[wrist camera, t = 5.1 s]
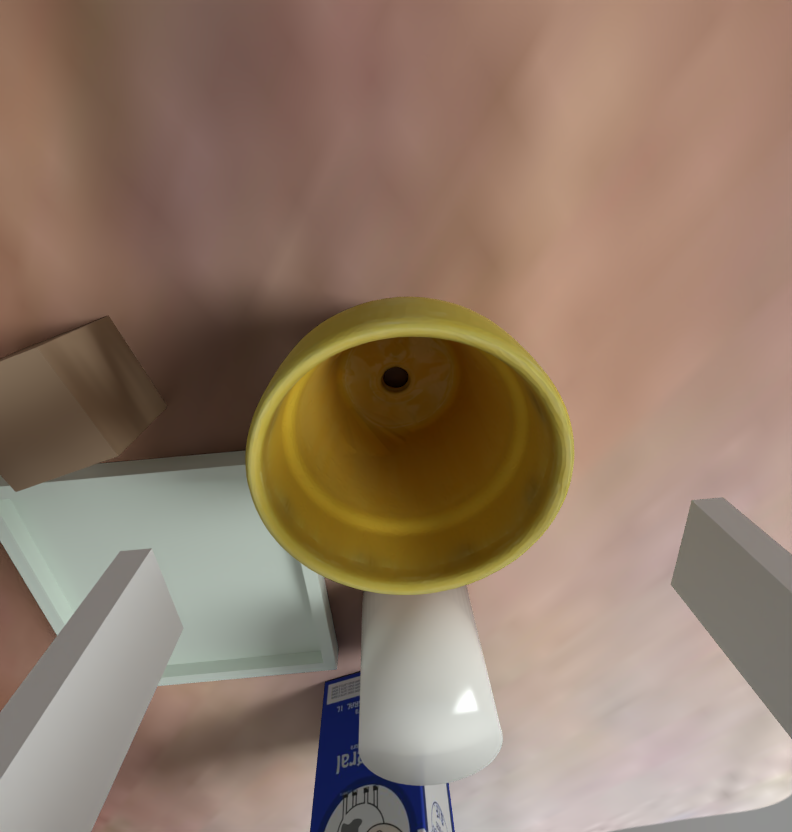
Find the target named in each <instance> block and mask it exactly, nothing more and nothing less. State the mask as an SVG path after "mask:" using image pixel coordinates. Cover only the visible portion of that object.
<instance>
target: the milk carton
mask: <svg viewBox="0 0 792 832" xmlns="http://www.w3.org/2000/svg"><path fill="white" fill-rule="evenodd" d="M360 677H361V672H358V673H355V674H352V675H348V676H345V677H341V678H338V679H334V680H331V681H327V682H325V688H324V698H323V708H322V718H321V728H320V738H319V748H318V758H317V768H316V778H315V788H314V798H313V808H312V818H311V828H310V832H455V830H454V822H453V814H452V807H451V799H450V791H449V783H445V784H439V785H427V786H416V785H406V784H400V783H396V782H392V781H389V780H386V779H384V778H381V777H379V776H377V775H376V774H374V773H373V772H371V771H370V770H369V769H368V768H367V767H366V766H365V765H364V764H363V762H362V760H361V758H360V755H359V713H360Z"/></svg>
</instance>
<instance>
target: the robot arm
mask: <svg viewBox="0 0 792 832" xmlns="http://www.w3.org/2000/svg"><path fill="white" fill-rule="evenodd" d="M671 585H672V587H673V588H674V589H675V590H676V592H677V593H678V594H679V596H680V597H681V598H682V599H683V601H684V602H685V603H686V604H687V606H688V607H689V608H690V610H691V611H692V612H693V613H694V615H695V616H696V617H697V619H698V620H699V621H700V622H701V624H702V625H703V626H704V627H705V629H706V630H707V631H708V633H709V634H710V635H711V636H712V638H713V639H714V640H715V641H716V643H717V644H718V645H719V647H720V648H721V649H722V650H723V652H724V653H725V654H726V656H727V657H728V658H729V659H730V661H731V662H732V663H733V664H734V666H735V667H736V668H737V670H738V671H739V672H740V673H741V675H742V676H743V677H744V679H745V680H746V681H747V682H748V684H749V685H750V686H751V687H752V689H753V690H754V691H755V693H756V694H757V695H758V696H759V698H760V699H761V700H762V701H763V703H764V704H765V705H766V707H767V708H768V709H769V710H770V712H771V713H772V714H773V716H774V717H775V718H776V719H777V721H778V722H779V723H780V724H781V726H782V727H783V728H784V730H785V731H786V732H787V733H788V735H789V736H790V737H791V739H792V555H791V554H790V553H789V552H788V551H787V550H785V549H784V548H783V547H782V546H781V545H779V544H778V543H777V542H776V541H775V540H773V539H772V538H771V537H770V536H769V535H767V534H766V533H765V532H764V531H763V530H761V529H760V528H759V527H758V526H757V525H755V524H754V523H753V522H752V521H751V520H749V519H748V518H747V517H746V516H745V515H744V514H742V513H741V512H740V511H739V510H738V509H736V508H735V507H734V506H733V505H732V504H730V503H729V502H728V501H727V500H726V499H724V498H712V499H700V500H692V501H691V505H690V509H689V514H688V518H687V522H686V526H685V530H684V534H683V538H682V542H681V546H680V550H679V554H678V558H677V562H676V566H675V570H674V574H673V578H672V582H671ZM183 629H184V628H183V625H182V623H181V620H180V618H179V615H178V613H177V610H176V608H175V605H174V603H173V600H172V598H171V595H170V593H169V590H168V588H167V585H166V583H165V580H164V578H163V575H162V573H161V570H160V568H159V565H158V563H157V560H156V558H155V555H154V553H153V550H152V548H149V549H138V550H127V551H120V552H119V553H118V555H117V556H116V557H115V559H114V560H113V561H112V563H111V564H110V565H109V567H108V568H107V569H106V571H105V572H104V573H103V575H102V576H101V577H100V579H99V580H98V581H97V583H96V584H95V586H94V587H93V588H92V590H91V591H90V592H89V594H88V595H87V596H86V598H85V599H84V600H83V602H82V603H81V604H80V606H79V607H78V608H77V610H76V611H75V612H74V614H73V615H72V617H71V618H70V619H69V621H68V622H67V623H66V625H65V626H64V627H63V629H62V630H61V631H60V633H59V634H58V635H57V637H56V638H55V639H54V641H53V642H52V643H51V645H50V646H49V647H48V649H47V650H46V652H45V653H44V654H43V656H42V657H41V658H40V660H39V661H38V662H37V664H36V665H35V666H34V668H33V669H32V670H31V672H30V673H29V674H28V676H27V677H26V678H25V680H24V681H23V682H22V684H21V685H20V687H19V688H18V689H17V691H16V692H15V693H14V695H13V696H12V697H11V699H10V700H9V701H8V703H7V704H6V705H5V707H4V708H3V709H2V711H1V712H0V832H91V831H92V828H93V826H94V824H95V822H96V820H97V817H98V815H99V813H100V811H101V809H102V806H103V804H104V802H105V800H106V798H107V795H108V793H109V791H110V789H111V787H112V785H113V782H114V780H115V778H116V776H117V774H118V771H119V769H120V767H121V765H122V763H123V760H124V758H125V756H126V754H127V752H128V749H129V747H130V745H131V743H132V741H133V738H134V736H135V734H136V732H137V730H138V727H139V725H140V723H141V721H142V719H143V716H144V714H145V712H146V710H147V708H148V705H149V703H150V701H151V699H152V697H153V694H154V692H155V690H156V688H157V686H158V684H159V681H160V679H161V677H162V675H163V673H164V670H165V668H166V666H167V664H168V662H169V659H170V657H171V655H172V653H173V651H174V648H175V646H176V644H177V642H178V640H179V637H180V635H181V633H182V631H183Z"/></svg>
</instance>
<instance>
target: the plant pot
mask: <svg viewBox="0 0 792 832" xmlns="http://www.w3.org/2000/svg"><path fill="white" fill-rule="evenodd" d="M393 367H400V368H403V369H404V370H405V371H406V372H407V373H408V381H407V383H406V384H405V385H404V386H402V387H399V388H393V387H389V386H387V385H386V384H385V383H384V381H383V374H384V373H385V371H386V370H388V369H390V368H393ZM573 464H574V440H573V433H572V427H571V423H570V419H569V415H568V412H567V410H566V407H565V404H564V402H563V400H562V398H561V396H560V394H559V392H558V391H557V389H556V387H555V385H554V384H553V382H552V381H551V379H550V378H549V377H548V375H547V374H546V373H545V372H544V370H543V369H542V368H541V367H540V366H539V364H538V363H537V362H536V361H535V360H534V359H533V357H532V356H531V355H530V354H529V353H528V352H527V351H526V350H525V349H524V348H523V347H522V346H521V345H520V344H519V343H518V342H517V341H516V340H515V339H514V338H512V337H511V336H510V335H509V334H508V333H506V332H505V331H504V330H503V329H501V328H500V327H499V326H497V325H496V324H495V323H493V322H492V321H490V320H489V319H487V318H485V317H484V316H482V315H480V314H478V313H476V312H474V311H472V310H470V309H467V308H465V307H462V306H460V305H456V304H453V303H450V302H446V301H442V300H437V299H430V298H422V297H395V298H386V299H381V300H375V301H371V302H367V303H363V304H360V305H357V306H355V307H352V308H349V309H347V310H345V311H342V312H340V313H338V314H336V315H335V316H333V317H331V318H329V319H327V320H326V321H324V322H322V323H321V324H319V325H318V326H317V327H316V328H314V329H313V330H312V331H310V332H309V333H308V334H307V335H306V336H305V337H304V338H303V339H301V340H300V341H299V343H298V344H297V345H296V346H295V347H294V348H293V349H292V351H291V352H290V353H289V355H288V356H287V357H286V358H285V360H284V361H283V362H282V364H281V365H280V367H279V368H278V370H277V372H276V373H275V375H274V376H273V378H272V379H271V381H270V383H269V385H268V386H267V388H266V390H265V392H264V393H263V395H262V397H261V399H260V401H259V403H258V406H257V408H256V410H255V412H254V415H253V418H252V422H251V425H250V428H249V433H248V437H247V444H246V453H245V466H246V477H247V483H248V487H249V490H250V494H251V497H252V500H253V503H254V505H255V508H256V510H257V512H258V514H259V516H260V518H261V520H262V522H263V524H264V525H265V527H266V528H267V530H268V531H269V533H270V534H271V535H272V536H273V538H274V539H275V540H276V541H277V542H278V544H279V545H280V546H281V547H282V548H283V549H284V550H285V551H287V552H288V553H289V554H290V555H291V556H292V557H294V558H295V559H296V560H297V561H299V562H300V563H302V564H303V565H304V566H306V567H307V568H309V569H310V570H312V571H314V572H316V573H317V574H319V575H321V576H323V577H325V578H328V579H330V580H332V581H334V582H337V583H340V584H342V585H345V586H349V587H352V588H355V589H359V590H363V591H369V592H374V593H380V594H391V595H420V594H430V593H436V592H441V591H446V590H450V589H455V588H458V587H462V586H465V585H467V584H470V583H473V582H475V581H478V580H480V579H483V578H485V577H487V576H489V575H490V574H492V573H494V572H496V571H498V570H500V569H502V568H504V567H505V566H507V565H508V564H510V563H511V562H513V561H514V560H516V559H517V558H518V557H520V556H521V555H522V554H523V553H525V552H526V551H527V550H528V549H529V548H530V547H531V546H532V545H533V544H534V543H535V542H536V541H537V540H538V539H539V538H540V537H541V536H542V535H543V534H544V532H545V531H546V530H547V529H548V527H549V526H550V524H551V523H552V522H553V520H554V518H555V517H556V515H557V513H558V512H559V510H560V508H561V506H562V504H563V502H564V500H565V497H566V495H567V492H568V488H569V485H570V482H571V477H572V471H573Z"/></svg>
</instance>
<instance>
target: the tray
mask: <svg viewBox="0 0 792 832" xmlns="http://www.w3.org/2000/svg"><path fill="white" fill-rule="evenodd" d="M245 453H246V451H234V452H223V453H212V454H201V455H189V456H178V457H167V458H156V459H144V460H133V461H122V462H111V463H99V464H95V465H92V466H89V467H86V468H83V469H81V470H78V471H75V472H72V473H69V474H66V475H63V476H61V477H58V478H55V479H52V480H49V481H46V482H43V483H41V484H38V485H35V486H32V487H29V488H26V489H24V490H21V491H18V492H15V491H14V490H13V489H12V487H11V486H10V485H9V484H8V483H7V482H6V481H5V480H4V479H3V478H2V476H1V475H0V541H1V543H2V545H3V546H4V548H5V550H6V551H7V553H8V555H9V556H10V558H11V560H12V561H13V563H14V565H15V566H16V568H17V570H18V571H19V573H20V575H21V576H22V578H23V580H24V581H25V583H26V585H27V586H28V588H29V590H30V591H31V593H32V594H33V596H34V598H35V599H36V601H37V603H38V604H39V606H40V608H41V609H42V611H43V613H44V614H45V616H46V618H47V619H48V621H49V623H50V624H51V626H52V628H53V629H54V631H55V633H56V634H57V635H58V634H59V633H60V631H61V630H62V629H63V627H64V626H65V625H66V623H67V622H68V621H69V619H70V618H71V617H72V615H73V614H74V612H75V611H76V610H77V608H78V607H79V606H80V604H81V603H82V602H83V600H84V599H85V598H86V596H87V595H88V594H89V592H90V591H91V590H92V588H93V587H94V586H95V584H96V583H97V581H98V580H99V579H100V577H101V576H102V575H103V573H104V572H105V571H106V569H107V568H108V567H109V565H110V564H111V563H112V561H113V560H114V559H115V557H116V556H117V555H118V553H119V552H120V551H127V550H138V549H149V548H152V550H153V553H154V555H155V558H156V560H157V563H158V565H159V568H160V570H161V573H162V575H163V578H164V580H165V583H166V585H167V588H168V590H169V593H170V595H171V598H172V600H173V603H174V605H175V608H176V610H177V613H178V615H179V618H180V620H181V623H182V625H183V628H184V629H183V631H182V633H181V635H180V637H179V640H178V642H177V644H176V646H175V648H174V651H173V653H172V655H171V657H170V659H169V662H168V664H167V666H166V668H165V670H164V673H163V675H162V677H161V679H160V681H159V684H158V686H163V685H174V684H185V683H195V682H206V681H217V680H228V679H239V678H250V677H260V676H271V675H282V674H293V673H304V672H314V671H325V670H336V669H337V663H338V650H339V649H338V644H337V639H336V634H335V629H334V624H333V619H332V614H331V609H330V604H329V599H328V594H327V589H326V584H325V579H324V577H323V576H321V575H319V574H317V573H316V572H314V571H312V570H310V569H309V568H307V567H306V566H304V565H303V564H302V563H300V562H299V561H297V560H296V559H295V558H294V557H292V556H291V555H290V554H289V553H288V552H287V551H285V550H284V549H283V548H282V547H281V546H280V545H279V544H278V542H277V541H276V540H275V539H274V538H273V536H272V535H271V534H270V533H269V531H268V530H267V528H266V527H265V525H264V524H263V522H262V520H261V518H260V516H259V514H258V512H257V510H256V508H255V505H254V503H253V500H252V497H251V494H250V490H249V487H248V483H247V477H246V466H245Z"/></svg>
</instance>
